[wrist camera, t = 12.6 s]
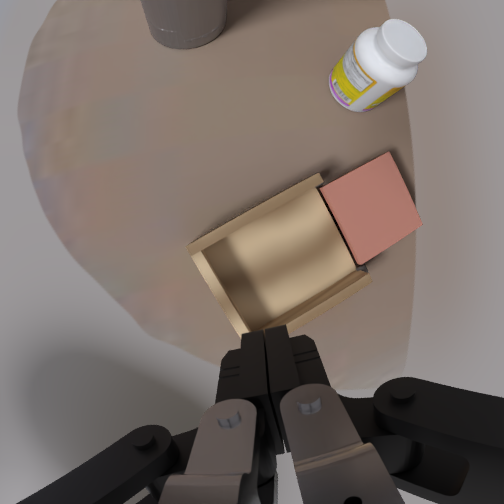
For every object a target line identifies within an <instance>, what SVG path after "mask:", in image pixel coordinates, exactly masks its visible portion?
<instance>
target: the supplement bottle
mask: <svg viewBox="0 0 504 504" xmlns="http://www.w3.org/2000/svg"><path fill="white" fill-rule="evenodd" d="M426 55H427V47H426V43H425V41H424V39H423V38H422V36H421V34H420V33H419V32H418V31H417V30H416V29H415V28H414V27H413V26H411V25H410V24H408V23H406V22H404V21H402V20H398V19H390V20H387V21H386V22H385V23H384V24H383V25H382V26H380V27H374V28H369V29H367V30H365V31H363V32H362V33H361V34H360V35H359V36H358V38H357V39H356V40H355V41H354V43H353V44H352V45H351V46H350V48H349V49H348V50H347V52H346V53H345V54H344V55H343V57H342V58H341V59H340V60H339V62H338V63H337V64H336V66H335V67H334V68H333V70H332V71H331V73H330V76H329V87H330V90H331V93H332V95H333V96H334V98H335V99H336V100H337V101H338V102H339V103H340V104H341V105H342V106H343V107H345V108H347V109H349V110H352V111H355V112H366V111H369V110H371V109H373V108H374V107H376V106H377V105H379V104H380V103H382V102H383V101H384V100H386V99H387V98H389V97H390V96H391V95H393V94H394V93H396V92H397V91H399V90H400V89H401V88H403V87H404V86H406V85H407V84H409V83H410V82H411V81H412V80H413V79H414V78H415V76H416V74H417V71H418V64H419V63H420V62H421V61H423V60H424V59H425V57H426Z"/></svg>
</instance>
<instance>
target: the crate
mask: <svg viewBox="0 0 504 504" xmlns="http://www.w3.org/2000/svg"><path fill="white" fill-rule="evenodd" d="M323 183H324V181H323V180H322V178H321V176H320V174H319V172H318V173H316V174H314V175H312V176H311V177H308V178H306V179H304V180H303V181H301V182H299V183H297V184H295V185H293V186H291V187H290V188H288V189H286V190H284V191H282V192H280V193H279V194H277V195H275V196H273V197H271V198H269V199H268V200H266V201H264V202H262V203H260V204H259V205H257V206H255V207H253V208H251V209H250V210H248V211H246V212H244V213H242V214H241V215H239V216H237V217H235V218H234V219H232V220H230V221H228V222H226V223H225V224H223V225H221V226H219V227H218V228H216V229H214V230H212V231H211V232H209V233H207V234H205V235H204V236H202V237H200V238H198V239H197V240H195V241H193V242H192V243H190V244H189V245H187V246H186V248H187V250H188V252H189V254H190V255H191V257H192V259H193V260H194V262H195V264H196V266H197V267H198V269H199V271H200V272H201V274H202V276H203V278H204V279H205V281H206V283H207V284H208V286H209V288H210V289H211V291H212V293H213V294H214V296H215V298H216V299H217V301H218V303H219V304H220V306H221V307H222V309H223V311H224V312H225V314H226V316H227V317H228V319H229V321H230V322H231V324H232V325H233V327H234V329H235V330H236V332H237V333H238V335H239V337H240V338H241V335H242V334H243V333H248V332H253V331H257V330H262V329H263V330H264V333H265V329H266V328H271V327H275V326H280V325H284V324H286V326H287V330H288V334H289V333H291V332H293V331H294V330H296V329H298V328H300V327H301V326H303V325H305V324H306V323H308V322H310V321H311V320H313V319H315V318H316V317H318V316H320V315H321V314H323V313H324V312H326V311H328V310H329V309H331V308H333V307H334V306H336V305H337V304H339V303H341V302H342V301H344V300H345V299H347V298H348V297H350V296H352V295H353V294H355V293H356V292H358V291H359V290H361V289H362V288H364V287H365V286H367V285H368V284H370V283H371V282H373V281H372V279H371V277H370V275H369V273H368V270H367V268H366V266H365V264H362V265H359V266H357V267H356V266H355V264H354V262H353V260H352V258H351V256H350V254H349V252H348V249H347V247H346V245H345V243H344V241H343V239H342V237H341V235H340V233H339V231H338V229H337V227H336V225H335V223H334V221H333V219H332V217H331V215H330V214H329V212H328V210H327V208H326V206H325V204H324V202H323V200H322V198H321V196H320V194H319V193H318V191H317V189H316V187H318V186H320V185H321V184H323Z"/></svg>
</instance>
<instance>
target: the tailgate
mask: <svg viewBox="0 0 504 504" xmlns="http://www.w3.org/2000/svg"><path fill="white" fill-rule="evenodd" d="M320 190H321V192H322V194H323V196H324V198H325V200H326V202H327V203H328V205H329V207H330V209H331V211H332V213H333V215H334V217H335V219H336V221H337V223H338V225H339V227H340V229H341V231H342V233H343V235H344V237H345V239H346V241H347V243H348V245H349V247H350V249H351V251H352V253H353V256H354V258H355V260H356V262H357V264H360V265H362V264H363V263H365V262H366V261H368V260H370V259H371V258H373V257H374V256H376V255H377V254H379V253H380V252H382V251H384V250H385V249H387V248H388V247H390V246H391V245H393V244H394V243H396V242H397V241H399V240H400V239H402V238H403V237H405V236H406V235H408V234H409V233H411V232H412V231H414V230H415V229H417V228H418V227H420V226H421V225H423V224H422V222H421V219H420V217H419V214H418V212H417V210H416V207H415V205H414V203H413V200H412V198H411V196H410V194H409V191H408V189H407V187H406V185H405V183H404V181H403V178H402V176H401V174H400V172H399V170H398V168H397V166H396V164H395V162H394V160H393V158H392V156H391V154H390V152H387V153H384V154H382V155H380V156H379V157H377V158H375V159H373V160H371V161H369V162H367V163H365V164H364V165H362V166H360V167H358V168H356V169H354V170H352V171H350V172H349V173H347V174H345V175H343V176H341V177H339V178H337V179H336V180H334V181H332V182H330V183H328V184H326V185H325V186H323V187H321V188H320Z"/></svg>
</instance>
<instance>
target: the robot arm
mask: <svg viewBox="0 0 504 504" xmlns="http://www.w3.org/2000/svg"><path fill="white" fill-rule="evenodd" d="M227 2H228V0H141V3H142V6H143V9H144V13H145V16H146V19H147V22H148V25H149V28H150V31H151V34H152V35H153V37H154V38H155V39H156V40H157V41H158V42H159V43H161V44H162V45H164V46H167V47H170V48H175V49H190V48H195V47H199V46H202V45H205V44H206V43H208V42H210V41H212V40H213V39H214V38H216V37H217V36H218V35H219V34H220V33H221V31H222V30H223V28H224V26H225V23H226V15H227ZM283 440H284V443H283ZM284 444H285V447H286V450H287V452H291V455H292V459H293V462H294V468H295V472H296V476H297V479H298V484H299V488H300V491H301V496H302V499H303V504H405V502H404V501H403V499H402V497H401V495H400V493H399V491H398V490H397V488H399V489H401V490H403V491H406V492H408V493H411V494H413V495H416V496H419V497H421V498H424V499H427V500H429V501H432V502H435V503H438V504H504V398H502V397H497V396H492V395H487V394H482V393H477V392H473V391H468V390H464V389H459V388H454V387H451V386H446V385H442V384H438V383H434V382H430V381H426V380H422V379H417V378H413V377H401V378H396V379H392V380H390V381H387V382H385V383H384V384H382V385H381V386H380V387H379V388H378V389H377V390H376V391H375V393H374V397H371V398H348V397H344V396H342V395H339V394H337V392H336V391H335V390H334V389H333V388H332V387H331V386H330V383H329V380H328V377H327V375H326V372H325V369H324V367H323V364H322V361H321V358H320V356H319V353H318V351H317V348H316V345H315V342H314V340H312V339H311V338H309V337H308V336H306V335H301V336H296V337H292V338H289V335H288V330H287V326H286V324H284V325H280V326H275V327H271V328H266V329H265V333H264V330H263V329H262V330H257V331H253V332H248V333H243V334H242V335H241V349H235V350H230V351H228V353H227V354H226V355H225V356H224V358H223V359H222V361H221V367H220V374H219V381H218V388H217V394H216V401H215V405H213V406H211V407H210V408H209V409H207V410H206V411H205V413H204V414H203V416H202V418H201V421H200V424H199V427H198V428H196V429H193V430H191V431H188V432H185V433H181V434H179V435H175V436H171V434H170V432H169V431H168V430H167V429H166V428H165V427H162V426H159V425H146V426H142V427H139V428H137V429H135V430H133V431H131V432H130V433H128V434H127V435H125V436H124V437H122V438H121V439H120V440H118V441H117V442H115V443H114V444H112V445H111V446H110V447H108V448H106V449H105V450H103V451H102V452H100V453H99V454H97V455H96V456H94V457H93V458H91V459H89V460H88V461H86V462H85V463H83V464H82V465H80V466H79V467H77V468H75V469H74V470H72V471H71V472H69V473H68V474H66V475H64V476H63V477H61V478H59V479H58V480H56V481H54V482H53V483H51V484H49V485H48V486H46V487H44V488H43V489H41V490H39V491H38V492H36V493H34V494H32V495H31V496H29V497H27V498H26V499H24V500H22V501H20V502H18V503H17V504H123V503H125V502H126V501H127V500H129V499H130V498H131V497H133V496H134V495H135V494H137V493H138V492H140V491H141V490H142V489H144V488H146V489H147V490H148V492H149V493H150V494H148V495H147V496H146V497H145V498H143V499H142V500H140V501H139V502H138V503H136V504H277V502H278V474H277V471H276V468H277V462H276V455H277V454H284V453H285V452H284Z"/></svg>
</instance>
